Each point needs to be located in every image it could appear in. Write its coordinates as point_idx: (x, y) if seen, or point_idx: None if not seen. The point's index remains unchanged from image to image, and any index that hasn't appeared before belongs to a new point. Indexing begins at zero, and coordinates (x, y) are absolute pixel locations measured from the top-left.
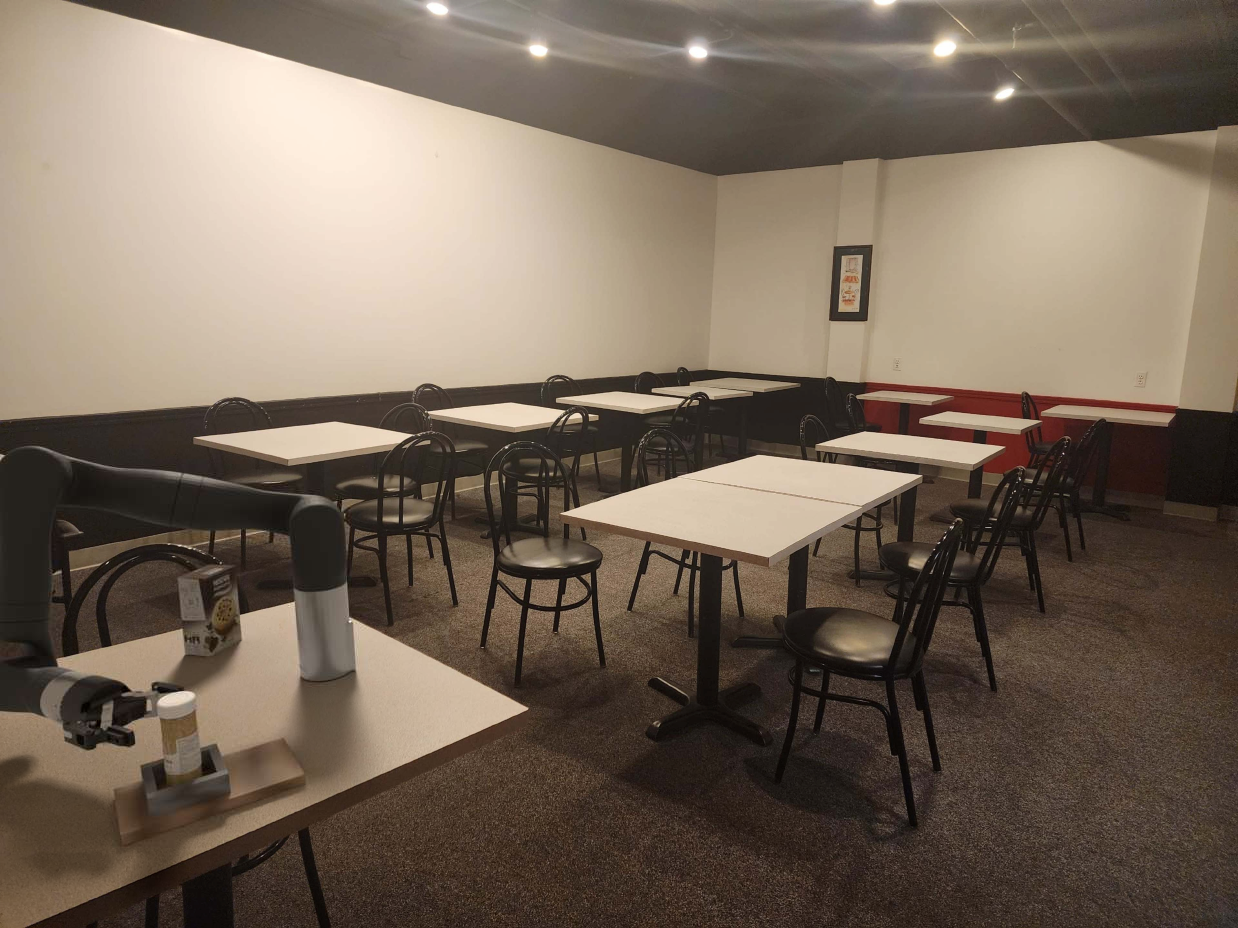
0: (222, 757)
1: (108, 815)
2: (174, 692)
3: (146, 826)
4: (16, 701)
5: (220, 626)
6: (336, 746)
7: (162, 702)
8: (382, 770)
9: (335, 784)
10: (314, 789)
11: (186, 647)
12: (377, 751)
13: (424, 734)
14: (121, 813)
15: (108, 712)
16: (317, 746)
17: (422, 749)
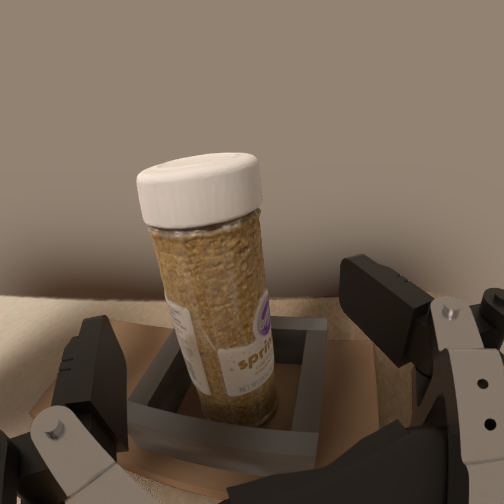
0: (120, 455)
1: None
2: (18, 474)
3: (333, 341)
4: None
5: None
6: (28, 366)
7: (240, 156)
8: (68, 302)
9: (104, 312)
10: (121, 318)
11: None
12: (34, 327)
13: (3, 318)
14: (370, 395)
15: (474, 382)
16: (30, 385)
17: (29, 304)
